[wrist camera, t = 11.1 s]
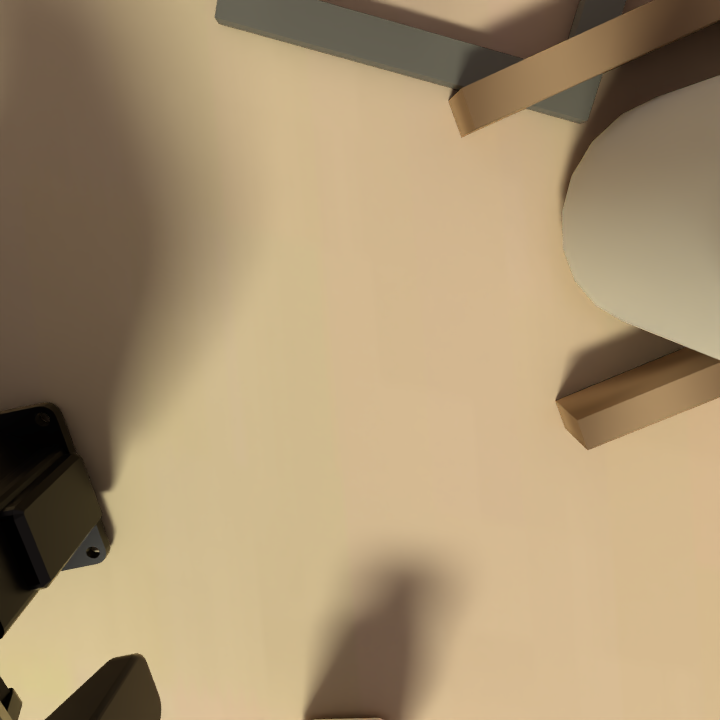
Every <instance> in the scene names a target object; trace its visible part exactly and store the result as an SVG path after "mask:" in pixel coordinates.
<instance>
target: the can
mask: <svg viewBox="0 0 720 720" xmlns="http://www.w3.org/2000/svg"><path fill="white" fill-rule="evenodd" d="M562 234H563V250H564V253H565V256H566V258H567V261H568V264H569V267H570V269H571V272H572V275H573V277H574V280H575V282H576V283H577V284H578V285H579V287H580V288H581V289H582V290H583V291H584V293H585V294H586V295H587V296H588V297H589V299H590V300H591V301H592V302H593V303H594V304H595V306H597V307H598V308H600V309H602V310H604V311H605V312H607V313H609V314H611V315H612V316H614V317H616V318H618V319H619V320H621V321H623V322H625V323H628V324H630V325H633V326H635V327H638V328H640V329H643V330H645V331H648V332H650V333H653V334H655V335H658V336H660V337H663V338H665V339H668V340H670V341H673V342H675V343H678V344H680V345H683V346H686V347H688V348H691V349H693V350H696V351H698V352H701V353H703V354H706V355H708V356H711V357H713V358H716V359H718V360H720V75H718V76H716V77H713V78H710V79H707V80H704V81H701V82H698V83H695V84H692V85H690V86H687V87H684V88H681V89H678V90H675V91H672V92H669V93H667V94H664V95H661V96H658V97H656V98H654V99H652V100H649V101H647V102H645V103H643V104H641V105H639V106H637V107H635V108H633V109H631V110H629V111H627V112H625V113H623V114H621V115H620V116H619V117H618V118H617V119H616V120H615V121H614V122H613V123H612V124H611V125H609V126H608V127H607V128H606V129H605V130H604V131H603V132H602V133H601V134H600V135H599V136H598V137H597V138H595V139H594V140H593V141H592V143H591V144H590V146H589V148H588V149H587V151H586V153H585V154H584V156H583V158H582V159H581V161H580V163H579V164H578V166H577V168H576V169H575V171H574V173H573V174H572V176H571V180H570V184H569V188H568V191H567V195H566V199H565V203H564V206H563V210H562Z"/></svg>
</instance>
